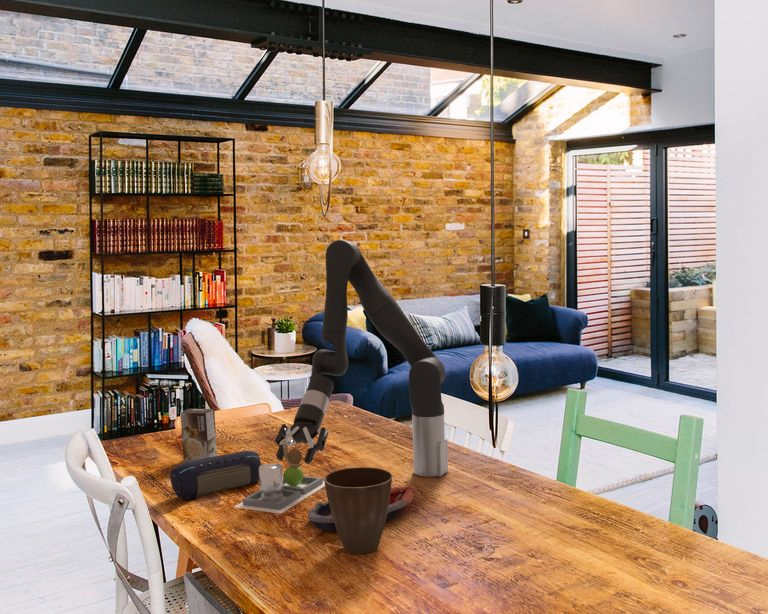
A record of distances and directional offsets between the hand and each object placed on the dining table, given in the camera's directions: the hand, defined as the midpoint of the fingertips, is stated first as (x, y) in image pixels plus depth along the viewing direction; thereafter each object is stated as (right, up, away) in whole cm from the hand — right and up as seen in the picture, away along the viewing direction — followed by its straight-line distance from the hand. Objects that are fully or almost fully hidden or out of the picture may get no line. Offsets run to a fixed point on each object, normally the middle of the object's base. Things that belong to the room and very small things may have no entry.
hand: (292, 461), depth 207 cm
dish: (+20, -10, -19) cm, 29 cm away
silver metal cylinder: (-4, -8, -9) cm, 13 cm away
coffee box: (-33, -7, +36) cm, 49 cm away
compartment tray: (-2, -9, -4) cm, 10 cm away
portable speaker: (-21, -10, +5) cm, 23 cm away
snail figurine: (-1, -7, +3) cm, 8 cm away
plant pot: (+19, -12, -37) cm, 44 cm away
